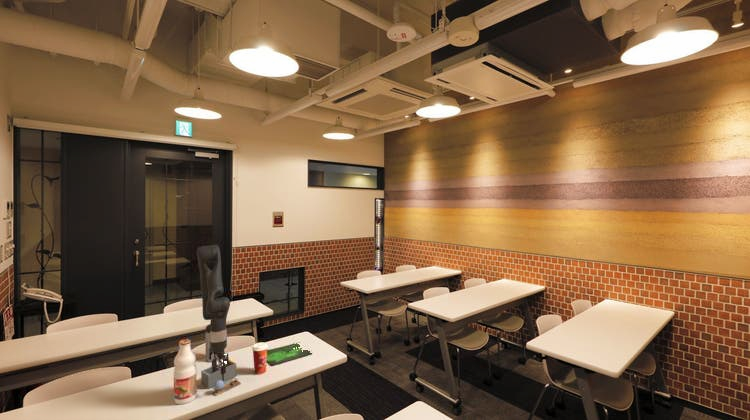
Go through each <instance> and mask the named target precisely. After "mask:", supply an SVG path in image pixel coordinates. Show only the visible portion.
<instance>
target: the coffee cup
mask: <svg viewBox="0 0 750 420" xmlns="http://www.w3.org/2000/svg"><path fill="white" fill-rule="evenodd" d="M268 347H269V346H268V343H266V342H262V341H261V342H257V343H254V344H253V345H252V349H251V350H252V354H253V355H252V357H253V371H254V374H256V375H263V374H265V373H266V372H267V371H266V370H267V363H268V362H267V350H268V349H269V348H268Z"/></svg>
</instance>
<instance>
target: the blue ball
mask: <svg viewBox="0 0 750 420" xmlns="http://www.w3.org/2000/svg"><path fill="white" fill-rule="evenodd" d="M223 386H224V382H223V381H222V380H218V381H216V383H215V384H214V388H215V389H216V390H221V389H222V388H223ZM215 389H214V390H215Z"/></svg>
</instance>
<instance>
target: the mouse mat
mask: <svg viewBox="0 0 750 420" xmlns="http://www.w3.org/2000/svg"><path fill="white" fill-rule="evenodd" d="M295 343H296V344H295ZM297 343H298V342H294V343H291V344H287V345H284V346H280V347H274V348H270V349H267V362H266V363H267V364H268V365H269V366H271V367H272V366H273V367H274V366H277V365H281V364H284V363H288V362H292V361H294V360H298V359H302V358H305V357H308V356H312V355H313V354H312V353H313V352H312V353H310V351H311V350H310V351H308V350H303V352H302V350H301V349H302V348H300V349H299V348H298V347H300V345H299V344H297ZM296 347H297V349H296ZM293 348H295V350H294V349H293ZM297 350H298V351H297Z"/></svg>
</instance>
